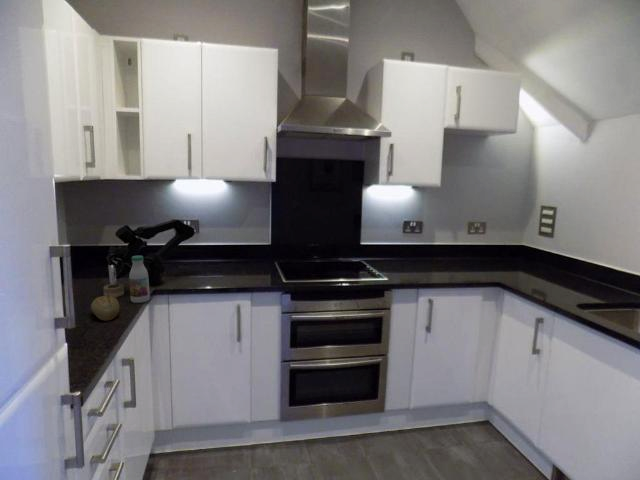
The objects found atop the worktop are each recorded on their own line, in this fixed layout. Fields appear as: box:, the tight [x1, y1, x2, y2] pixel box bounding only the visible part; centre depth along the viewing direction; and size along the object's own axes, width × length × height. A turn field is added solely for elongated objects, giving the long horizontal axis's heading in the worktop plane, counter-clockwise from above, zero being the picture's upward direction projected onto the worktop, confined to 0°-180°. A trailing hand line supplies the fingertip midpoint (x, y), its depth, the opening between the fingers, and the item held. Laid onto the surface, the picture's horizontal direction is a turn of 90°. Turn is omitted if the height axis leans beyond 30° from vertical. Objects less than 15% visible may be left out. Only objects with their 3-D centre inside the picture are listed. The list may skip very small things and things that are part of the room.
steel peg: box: [107, 264, 118, 288], centre depth 184 cm, size 3×3×14 cm
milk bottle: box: [128, 254, 151, 304], centre depth 177 cm, size 8×8×20 cm
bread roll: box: [90, 295, 120, 322], centre depth 160 cm, size 10×15×8 cm, turn 42°
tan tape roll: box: [102, 283, 125, 298], centre depth 185 cm, size 8×8×4 cm
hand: (111, 276), depth 183 cm, fingers open, 9 cm apart
